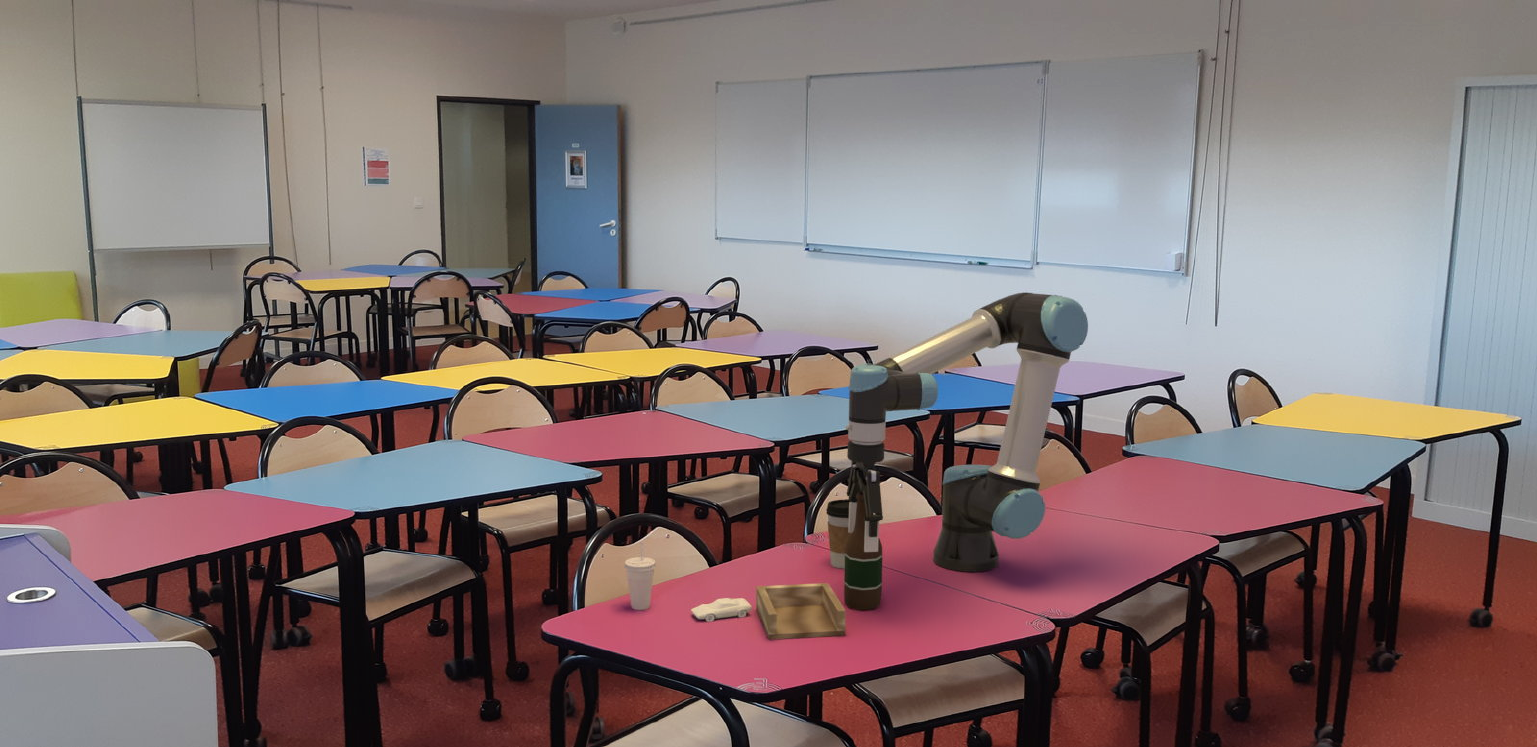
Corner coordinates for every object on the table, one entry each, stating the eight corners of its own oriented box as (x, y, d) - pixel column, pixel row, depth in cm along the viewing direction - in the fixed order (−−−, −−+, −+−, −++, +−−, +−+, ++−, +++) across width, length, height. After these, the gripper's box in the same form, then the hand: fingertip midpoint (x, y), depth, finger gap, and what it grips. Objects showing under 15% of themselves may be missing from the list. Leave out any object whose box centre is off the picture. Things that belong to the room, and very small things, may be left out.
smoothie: (662, 606, 227) (662, 541, 225) (638, 614, 222) (638, 548, 220) (642, 598, 231) (641, 534, 229) (618, 606, 227) (617, 541, 224)
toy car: (689, 615, 223) (689, 599, 222) (744, 607, 227) (744, 592, 227) (697, 624, 218) (697, 608, 217) (754, 616, 222) (754, 601, 222)
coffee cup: (862, 570, 251) (864, 507, 249) (826, 570, 251) (827, 506, 249) (860, 559, 259) (861, 497, 257) (824, 558, 259) (825, 497, 257)
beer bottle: (881, 598, 233) (883, 488, 229) (881, 611, 225) (884, 498, 222) (844, 597, 233) (846, 487, 230) (843, 610, 226) (845, 497, 222)
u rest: (827, 606, 228) (827, 582, 227) (845, 635, 212) (845, 610, 212) (756, 609, 226) (756, 586, 225) (768, 639, 210) (769, 614, 209)
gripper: (834, 429, 236) (831, 525, 239) (863, 454, 211) (859, 560, 214) (868, 429, 237) (865, 524, 240) (900, 453, 213) (896, 559, 216)
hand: (862, 541), depth 227 cm, fingers open, 13 cm apart
